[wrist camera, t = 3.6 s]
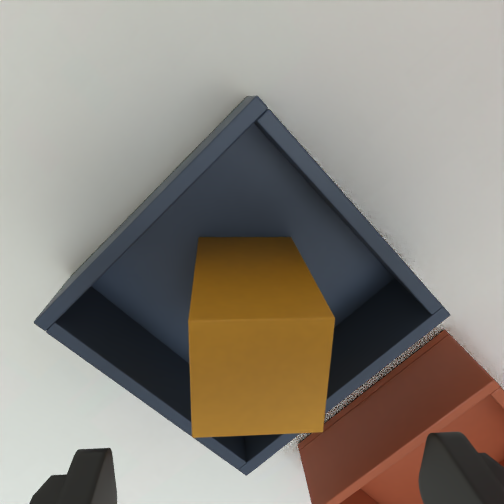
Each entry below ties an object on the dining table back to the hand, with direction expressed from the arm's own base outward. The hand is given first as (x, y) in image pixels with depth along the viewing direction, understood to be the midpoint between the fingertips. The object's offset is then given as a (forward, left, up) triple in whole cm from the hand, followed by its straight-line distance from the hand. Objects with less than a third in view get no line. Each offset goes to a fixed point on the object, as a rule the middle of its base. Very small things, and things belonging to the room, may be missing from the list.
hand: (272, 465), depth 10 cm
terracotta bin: (+13, +10, -12) cm, 20 cm away
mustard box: (0, 0, -11) cm, 11 cm away
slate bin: (0, 0, -12) cm, 12 cm away
